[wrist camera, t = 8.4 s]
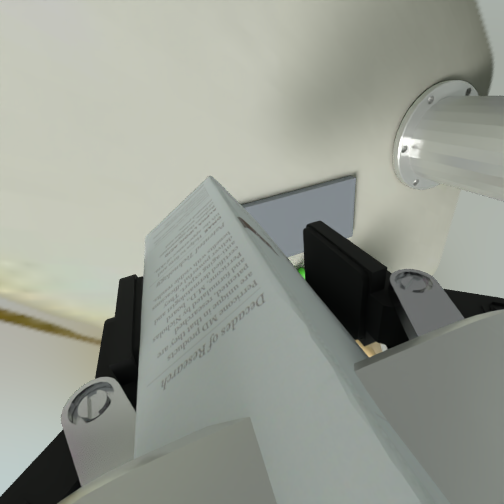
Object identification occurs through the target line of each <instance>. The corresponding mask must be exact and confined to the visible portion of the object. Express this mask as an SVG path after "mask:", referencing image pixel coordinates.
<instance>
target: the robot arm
mask: <svg viewBox="0 0 504 504" xmlns="http://www.w3.org/2000/svg"><path fill="white" fill-rule="evenodd" d="M393 165H394V170H395V173H396V175H397V177H398V179H399V180H400V181H401V182H402V183H403V184H404V185H406V186H408V187H411V188H413V189H418V190H424V189H429V188H432V187H435V186H437V185H439V184H445V185H448V186H452V187H455V188H458V189H462V190H465V191H469V192H472V193H475V194H479V195H482V196H486V197H489V198H493V199H496V200H499V201H503V202H504V96H479V95H478V92H477V91H476V89H475V88H474V87H473V86H472V85H471V84H470V83H468V82H466V81H462V80H448V81H443V82H440V83H438V84H436V85H434V86H432V87H431V88H429V89H428V90H426V91H425V92H424V93H423V94H422V95H421V96H420V97H419V98H418V99H417V100H416V101H415V102H414V103H413V105H412V106H411V107H410V109H409V110H408V112H407V113H406V115H405V117H404V118H403V120H402V122H401V125H400V127H399V129H398V132H397V135H396V139H395V142H394V148H393ZM303 243H304V264H305V280H306V282H307V283H308V284H309V285H310V287H311V288H312V289H313V290H314V291H315V293H316V294H317V295H318V296H319V297H320V299H321V300H322V301H323V302H324V303H325V304H326V306H327V307H328V308H329V309H330V311H331V312H332V313H333V314H334V315H335V317H336V318H337V319H338V320H339V321H340V323H341V324H342V325H343V326H344V328H345V329H346V330H347V331H348V332H349V334H350V335H351V336H352V337H353V339H354V340H359V341H360V342H361V343H362V345H363V346H364V347H365V346H367V345H369V344H372V343H374V342H377V343H380V345H381V348H382V351H383V352H381V353H378V354H376V355H373V356H371V357H369V358H366V359H364V360H361V361H359V362H357V363H354V371H355V373H356V374H357V376H358V378H359V379H360V381H361V382H362V384H363V386H364V387H365V389H366V390H367V392H368V393H369V395H370V396H371V398H372V399H373V400H374V402H375V403H376V405H377V406H378V408H379V409H380V411H381V412H382V413H383V415H384V416H385V418H386V419H387V421H388V422H389V423H390V425H391V426H392V428H393V429H394V430H395V432H396V433H397V434H398V435H399V437H400V438H401V439H402V441H403V442H404V443H405V445H406V446H407V447H408V449H409V450H410V451H411V452H412V454H413V455H414V456H415V458H416V459H417V460H418V462H419V463H420V464H421V466H422V467H423V468H424V469H425V471H426V472H427V473H428V475H429V476H430V477H431V479H432V480H433V481H434V483H435V484H436V485H437V487H438V488H439V489H440V490H441V492H442V493H443V494H444V496H445V497H446V498H447V500H448V501H449V502H450V504H504V299H503V298H498V297H491V296H485V295H479V294H473V293H466V292H460V291H454V290H447V289H443V288H442V287H441V286H440V284H439V283H438V282H437V280H436V279H435V278H434V277H433V276H431V275H429V274H428V273H425V272H422V271H419V270H414V269H402V270H398V271H395V272H394V273H393V274H392V273H390V272H389V271H387V267H386V266H384V265H383V264H381V263H380V262H379V261H377V260H376V259H374V258H373V257H372V256H370V255H369V254H367V253H366V252H365V251H363V250H362V249H360V248H359V247H357V246H356V245H355V244H353V243H352V242H350V241H349V240H348V239H346V238H345V237H343V236H342V235H341V234H339V233H338V232H336V231H335V230H333V229H332V228H331V227H329V226H328V225H326V224H325V223H324V222H322V221H316V222H312V223H309V224H307V225H306V228H304V229H303ZM142 294H143V277H137V275H136V274H135V275H132V276H128V277H125V278H121V279H120V280H119V288H118V296H117V304H116V312H115V317H113V318H110V319H107V320H106V321H105V323H104V329H103V335H102V341H101V347H100V353H99V359H98V365H97V371H96V377H95V379H94V380H91V381H89V382H88V383H86V384H84V385H83V386H81V388H79V389H78V390H76V391H75V392H74V394H73V395H72V396H71V397H70V398H69V399H68V401H67V403H66V404H65V406H64V408H63V411H62V414H61V423H62V426H63V430H62V431H61V432H60V433H59V434H58V436H57V437H56V438H55V439H54V440H53V441H52V442H51V443H50V444H49V445H48V446H47V447H46V448H45V450H44V451H43V452H42V453H41V454H40V455H39V456H38V457H37V458H36V459H35V460H34V461H33V462H32V464H30V466H29V467H28V468H27V469H26V470H25V471H24V472H23V473H22V474H21V475H20V476H19V477H18V479H16V481H15V482H14V483H13V484H12V485H11V486H10V487H9V488H8V489H7V490H6V491H5V492H4V493H3V494H2V496H1V497H0V504H277V502H276V499H275V496H274V493H273V489H272V486H271V483H270V480H269V476H268V473H267V470H266V467H265V464H264V460H263V457H262V454H261V451H260V447H259V444H258V441H257V438H256V435H255V432H254V428H253V425H252V422H251V419H250V417H246V418H241V419H236V420H231V421H226V422H222V423H218V424H214V425H210V426H207V427H205V428H202V429H200V430H198V431H195V432H193V433H191V434H189V435H186V436H184V437H182V438H180V439H177V440H175V441H173V442H171V443H169V444H166V445H164V446H162V447H160V448H157V449H155V450H153V451H151V452H149V453H146V454H144V455H142V456H140V457H137V458H135V459H134V445H135V426H136V406H137V387H138V368H139V350H140V334H141V310H142Z"/></svg>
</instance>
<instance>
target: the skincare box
mask: <svg viewBox="0 0 504 504" xmlns="http://www.w3.org/2000/svg"><path fill="white" fill-rule="evenodd" d="M366 358H369V357H368V356H367V354H366V353H365V352H364V351H363V350H362V348H361V347H360V346H359V345H358V343H357V342H356V341H355V340H354V339H353V337H352V336H351V335H350V334H349V332H348V331H347V330H346V329H345V328H344V326H343V325H342V324H341V323H340V321H339V320H338V319H337V318H336V317H335V315H334V314H333V313H332V312H331V311H330V309H329V308H328V307H327V306H326V304H325V303H324V302H323V301H322V300H321V299H320V297H319V296H318V295H317V294H316V293H315V291H314V290H313V289H312V288H311V287H310V285H309V284H308V283H307V282H306V280H305V279H304V278H303V277H302V275H301V274H300V273H299V272H298V270H297V269H296V268H295V267H294V265H293V264H292V263H291V262H290V260H289V259H288V258H287V257H286V256H285V254H284V253H283V252H282V251H281V249H280V248H279V247H278V246H277V245H276V243H275V242H274V241H273V240H272V239H271V237H270V236H269V235H268V234H267V233H266V232H265V231H264V229H263V228H262V227H261V226H260V225H259V224H258V222H257V221H256V220H255V219H254V218H253V217H252V216H251V215H250V214H249V213H248V212H247V211H246V210H245V209H244V208H243V207H242V205H241V204H240V203H239V202H238V201H237V200H236V199H235V198H234V197H233V196H232V195H231V194H230V193H229V192H228V191H227V190H226V189H225V188H224V187H223V186H222V185H221V184H220V183H219V182H218V181H216V180H215V179H214V178H213V177H212V176H209V177H208V178H207V179H206V180H205V181H203V182H202V183H201V184H200V185H199V186H198V187H197V188H196V189H195V190H194V191H193V192H192V193H191V194H190V195H188V196H187V197H186V198H185V200H183V201H182V202H181V203H180V204H179V205H178V206H177V207H176V208H175V209H174V210H173V211H172V212H171V213H170V214H169V215H168V216H167V217H166V218H165V219H164V220H163V221H162V222H161V223H160V224H159V225H157V226H156V227H155V228H154V229H153V230H152V231H151V232H150V233H149V234H148V235H147V236H146V238H145V258H144V276H143V294H142V310H141V334H140V350H139V368H138V387H137V406H136V426H135V445H134V459H135V458H137V457H140V456H142V455H144V454H146V453H149V452H151V451H153V450H155V449H157V448H160V447H162V446H164V445H166V444H169V443H171V442H173V441H175V440H177V439H180V438H182V437H184V436H186V435H189V434H191V433H193V432H195V431H198V430H200V429H202V428H205V427H207V426H210V425H214V424H218V423H222V422H226V421H231V420H236V419H241V418H246V417H250V419H251V422H252V425H253V428H254V432H255V435H256V438H257V441H258V444H259V447H260V451H261V454H262V457H263V460H264V464H265V467H266V470H267V473H268V476H269V480H270V483H271V486H272V489H273V493H274V496H275V499H276V502H277V504H450V502H449V501H448V500H447V498H446V497H445V496H444V494H443V493H442V492H441V490H440V489H439V488H438V487H437V485H436V484H435V483H434V481H433V480H432V479H431V477H430V476H429V475H428V473H427V472H426V471H425V469H424V468H423V467H422V466H421V464H420V463H419V462H418V460H417V459H416V458H415V456H414V455H413V454H412V452H411V451H410V450H409V449H408V447H407V446H406V445H405V443H404V442H403V441H402V439H401V438H400V437H399V435H398V434H397V433H396V432H395V430H394V429H393V428H392V426H391V425H390V423H389V422H388V421H387V419H386V418H385V416H384V415H383V413H382V412H381V411H380V409H379V408H378V406H377V405H376V403H375V402H374V400H373V399H372V398H371V396H370V395H369V393H368V392H367V390H366V389H365V387H364V386H363V384H362V382H361V381H360V379H359V378H358V376H357V374H356V373H355V371H354V363H357V362H359V361H361V360H364V359H366Z"/></svg>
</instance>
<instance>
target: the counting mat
mask: <svg viewBox="0 0 504 504" xmlns="http://www.w3.org/2000/svg"><path fill="white" fill-rule="evenodd" d="M355 184H356V178H355V177H353V176H348V177H344V178H340V179H336V180H333V181H329V182H325V183H322V184H318V185H314V186H310V187H307V188H303V189H299V190H295V191H292V192H288V193H284V194H280V195H277V196H273V197H269V198H266V199H262V200H258V201H254V202H251V203H247V204H243V205H242V207H243V208H244V209H245V210H246V211H247V212H248V213H249V214H250V215H251V216H252V217H253V218H254V219H255V220H256V221H257V222H258V224H259V225H260V226H261V227H262V228H263V229H264V231H265V232H266V233H267V234H268V235H269V236H270V237H271V239H272V240H273V241H274V242H275V243H276V245H277V246H278V247H279V248H280V249H281V251H282V252H283V253H284V254H285V256H286V257H290V256H293V255H296V254H299V253H302V252H304V243H303V229H304V228H306V225H307V224H309V223H312V222H316V221H322V222H324V223H325V224H326V225H328V226H329V227H331V228H332V229H333V230H335V231H336V232H338V233H339V234H341V235H342V236H343V237H345V238H349V237H352V234H353V217H354V200H355Z"/></svg>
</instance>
